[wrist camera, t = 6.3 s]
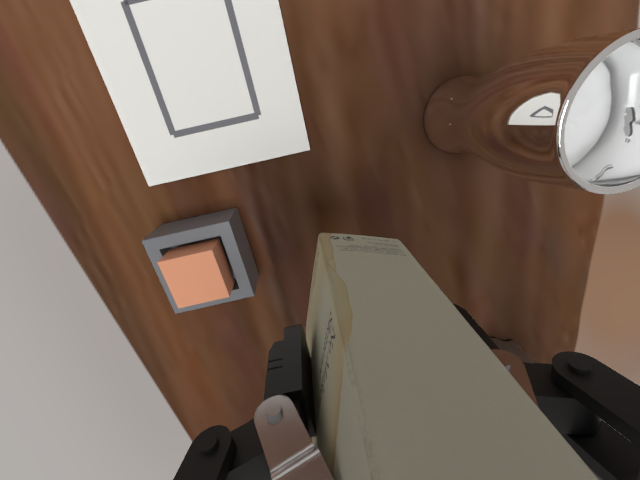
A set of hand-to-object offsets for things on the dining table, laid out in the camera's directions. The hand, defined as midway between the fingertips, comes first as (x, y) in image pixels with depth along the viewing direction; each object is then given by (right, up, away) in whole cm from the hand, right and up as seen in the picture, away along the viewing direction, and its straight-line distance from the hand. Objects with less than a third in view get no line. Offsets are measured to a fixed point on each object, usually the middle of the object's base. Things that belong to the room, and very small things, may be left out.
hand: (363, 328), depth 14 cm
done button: (-12, +2, +13) cm, 18 cm away
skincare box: (0, +1, +3) cm, 4 cm away
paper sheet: (-11, +17, +10) cm, 23 cm away
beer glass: (+10, +15, +13) cm, 22 cm away
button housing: (-12, +3, +16) cm, 20 cm away
